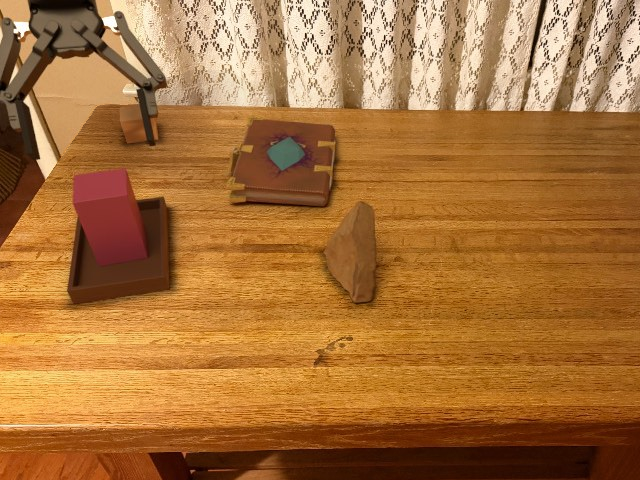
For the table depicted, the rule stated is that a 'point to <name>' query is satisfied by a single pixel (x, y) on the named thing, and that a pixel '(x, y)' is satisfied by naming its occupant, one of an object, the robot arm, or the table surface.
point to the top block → (110, 216)
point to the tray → (127, 276)
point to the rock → (354, 252)
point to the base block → (135, 124)
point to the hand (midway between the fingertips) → (94, 150)
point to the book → (283, 163)
